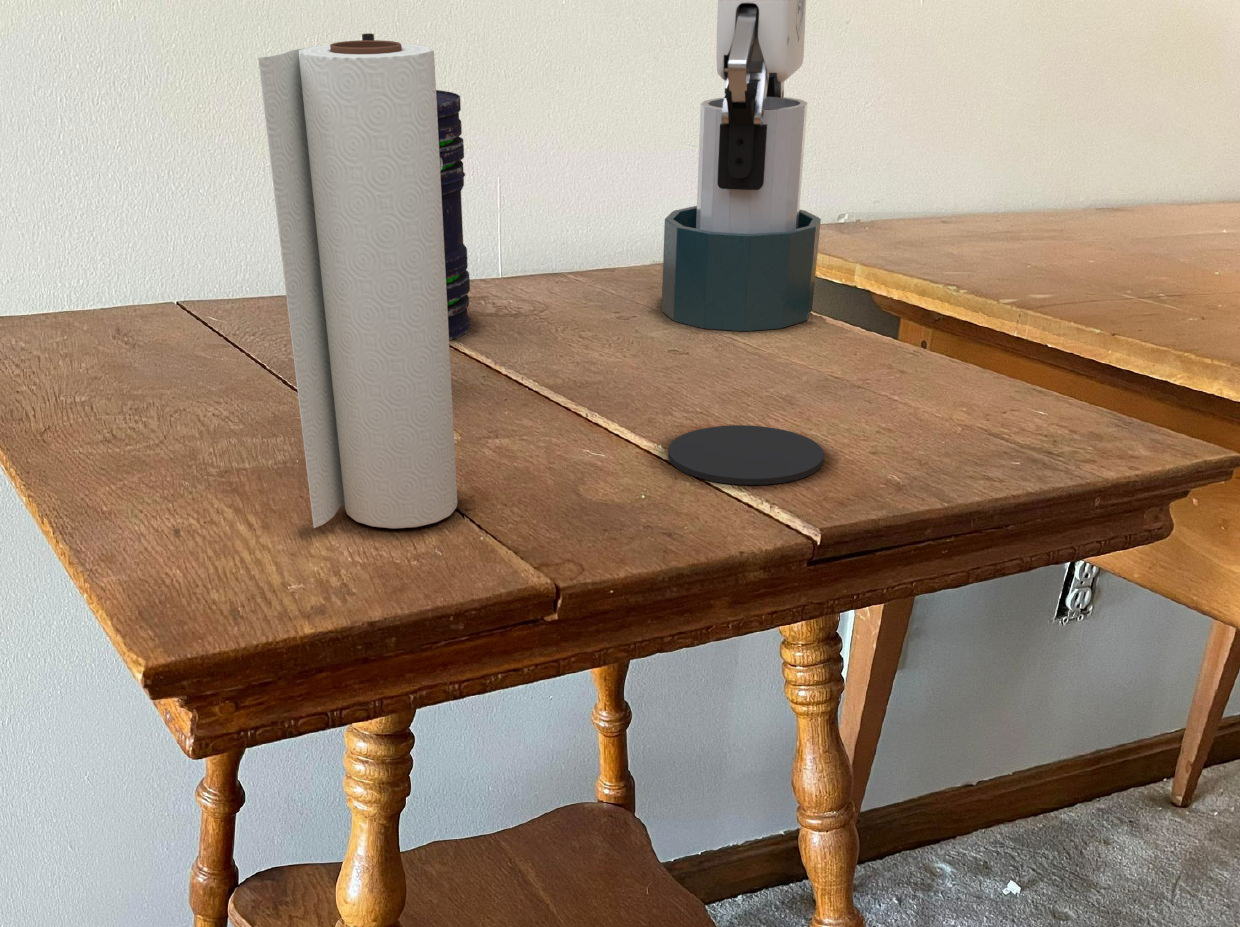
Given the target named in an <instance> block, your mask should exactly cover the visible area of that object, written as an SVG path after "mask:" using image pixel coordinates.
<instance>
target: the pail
mask: <svg viewBox="0 0 1240 927" xmlns="http://www.w3.org/2000/svg"><path fill="white" fill-rule="evenodd" d="M696 216H697V205H693V206H687V207H685V208H679V209H676V210H672V211H671V212H670V213H669V214H668V215H667V216H665V218H664V229H663V230H664V231H663V257H662V282H661V284H662V286H661V290H662V291H661V312H662V313H664V314H665V315H666V316H667V317H668V318H669V319H670V320H672V322H676V323H680V324H683V325H688V326H692V327H696V328H700V329H705V330H719V331H735V332H754V331H765V330H767V331H768V330H779V329H780V330H781V329H784V328H787V327H790V326H794V325H797V324H800V323H804V322H806V321H808V319H809V317H810V315H811V313H812V311H813V305H814V304H813V303H814V294H815V282H816V275H817V274H816V272H817V262H818V253H819V242H820V230H821V222H822V221H821V220H822V219H821V217H818V216H817V215H814V214H813V213H811V212H808V211H807V210H804V209H799V220H798V229H794V230H790V231H786V232H772V233H756V234H742V233H724V232H710V231H705V230H700V229H696Z"/></svg>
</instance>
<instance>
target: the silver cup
mask: <svg viewBox="0 0 1240 927" xmlns="http://www.w3.org/2000/svg"><path fill="white" fill-rule="evenodd" d="M723 99H724V97H717V98H716V97H715V98H710V99H707V100H703V101H702V102H700V110H699V137H698V138H699V140H698V163H697V164H698V166H697V191H696V192H697V193H696V194H697V195H696V206H697V216H696V229H700V230H705V231H710V232H724V233H742V234H756V233H772V232H786V231H790V230H794V229H798V220H799V210H800V207H801V206H800V205H801V192H802V181H803V180H802V179H803V167H804V155H805V142H806V128H807V116H808V115H807V114H808V102H807V101H805V100H803V99H800V98H793V97H787V96H784V97H774V96H766V103H765V110H764V118H763V124H767V138H766V154H765V170H764V184H763V186H762V187H761V188H760V189H759V190H739V189H721V188H719V186H718V183H717V181H718V159H719V136H720V124H721V123H722V121H721V117H722V107H723ZM755 101H756V96H755Z"/></svg>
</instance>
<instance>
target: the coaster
mask: <svg viewBox="0 0 1240 927" xmlns="http://www.w3.org/2000/svg"><path fill="white" fill-rule="evenodd" d="M667 457H668V461H669V462H670V464H671V465H672V466H673V467H674V468H676V469H677V470H678V471H680V472H682V473H684V474H686V475H689V476H692V477H694V478H697V479H701V480H704V481H710V482H714V483H719V484H728V485H737V486H765V485H766V486H767V485H777V484H784V483H790V482H794V481H798V480H801V479H805V478H806V477H807V478H808V477H809V476H811V475H814V474H815V473H816V472H817V471H819V470H820V469H821V467H822V466H823V464H824V460H825V459H824V458H825V453H824V450H823V448H822V446H820V445H819V444H818V442H816V441H814V440H813V439H811V438H810V437H807V436H806V435H802V434H799V433H797V432H793V431H790V430H786V429H780V428H776V427H769V426H760V425H741V424H738V425H735V424H734V425H718V426H711V427H704V428H700V429H696V430H692V431H689V432H685V433H683V434H681V435H679V436H677V437H676V438H674V439H673V440H672V441H671V442H670V444H669V445H668V449H667Z"/></svg>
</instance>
